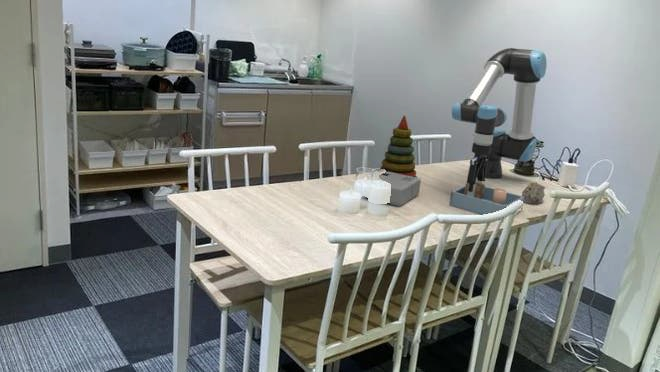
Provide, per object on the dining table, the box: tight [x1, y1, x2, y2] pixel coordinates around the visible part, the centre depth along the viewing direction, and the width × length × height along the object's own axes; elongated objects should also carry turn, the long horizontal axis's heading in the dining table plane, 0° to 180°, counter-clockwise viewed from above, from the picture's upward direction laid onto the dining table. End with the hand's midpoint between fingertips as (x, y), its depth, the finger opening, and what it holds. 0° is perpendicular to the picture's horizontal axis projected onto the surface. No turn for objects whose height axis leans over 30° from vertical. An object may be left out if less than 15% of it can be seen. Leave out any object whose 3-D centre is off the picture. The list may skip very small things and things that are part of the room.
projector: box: [379, 172, 422, 208], centre depth 230 cm, size 17×22×8 cm
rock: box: [521, 181, 546, 204], centre depth 238 cm, size 12×7×10 cm, turn 122°
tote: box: [449, 185, 524, 215], centre depth 225 cm, size 20×24×6 cm
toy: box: [379, 115, 419, 178], centre depth 255 cm, size 20×20×30 cm
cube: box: [464, 182, 486, 199], centre depth 228 cm, size 6×6×6 cm
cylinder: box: [492, 188, 508, 205], centre depth 222 cm, size 5×5×8 cm
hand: (473, 197), depth 229 cm, fingers closed on cube, 6 cm apart
